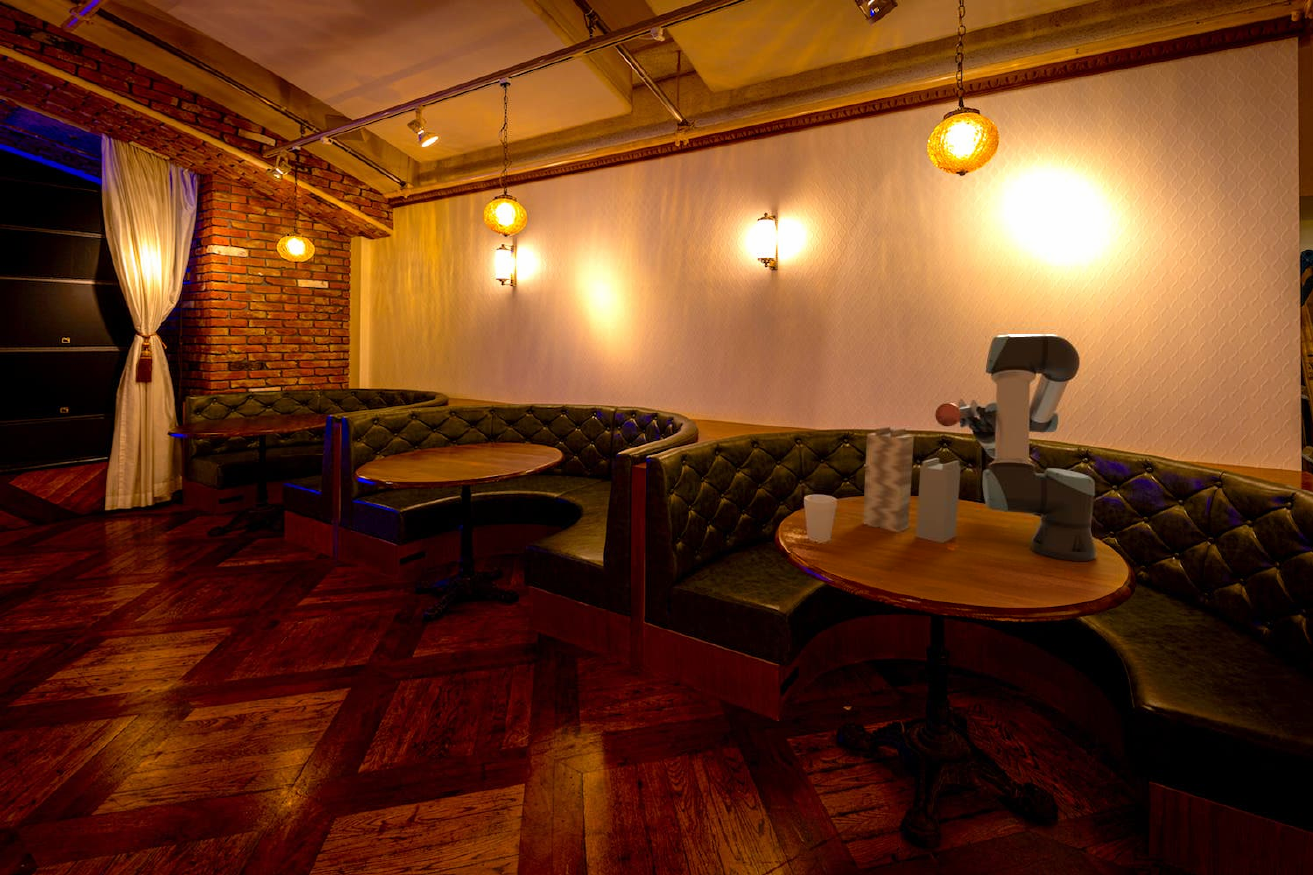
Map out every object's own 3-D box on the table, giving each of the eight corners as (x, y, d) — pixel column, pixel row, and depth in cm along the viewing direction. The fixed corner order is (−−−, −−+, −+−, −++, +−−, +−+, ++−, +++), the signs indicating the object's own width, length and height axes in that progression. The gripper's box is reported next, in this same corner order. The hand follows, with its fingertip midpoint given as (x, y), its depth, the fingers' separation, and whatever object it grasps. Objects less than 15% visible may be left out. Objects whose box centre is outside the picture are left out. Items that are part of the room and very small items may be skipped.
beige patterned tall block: (908, 527, 192) (914, 429, 187) (897, 532, 187) (903, 431, 182) (873, 519, 201) (878, 426, 196) (862, 523, 196) (867, 428, 191)
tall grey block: (955, 536, 183) (961, 461, 179) (942, 543, 177) (947, 465, 173) (929, 530, 189) (934, 457, 185) (916, 536, 183) (920, 461, 179)
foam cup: (838, 545, 175) (840, 502, 173) (807, 545, 176) (808, 502, 174) (829, 535, 185) (831, 494, 183) (800, 535, 185) (801, 494, 183)
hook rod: (986, 421, 191) (987, 399, 190) (958, 427, 177) (959, 404, 176) (963, 419, 196) (964, 398, 195) (934, 425, 182) (935, 402, 181)
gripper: (1011, 446, 196) (990, 415, 181) (960, 441, 208) (936, 411, 193) (1016, 426, 197) (996, 394, 182) (965, 421, 209) (943, 391, 194)
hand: (965, 403), depth 188 cm, fingers closed on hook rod, 3 cm apart
